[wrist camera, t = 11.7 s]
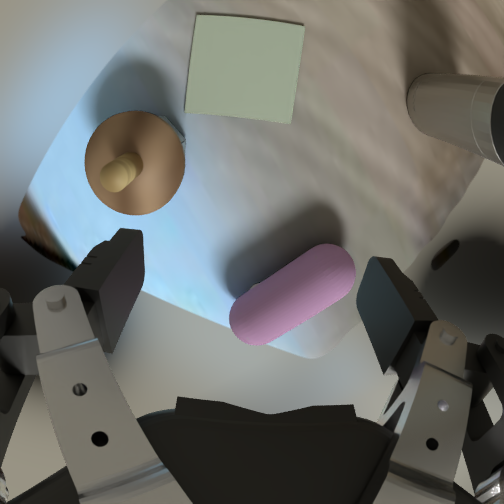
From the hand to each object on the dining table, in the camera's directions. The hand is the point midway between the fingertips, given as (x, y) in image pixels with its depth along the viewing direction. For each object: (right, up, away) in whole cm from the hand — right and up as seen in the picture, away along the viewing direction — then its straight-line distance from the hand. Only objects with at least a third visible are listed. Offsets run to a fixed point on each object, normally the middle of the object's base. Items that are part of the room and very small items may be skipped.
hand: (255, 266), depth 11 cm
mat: (-1, +23, +22) cm, 31 cm away
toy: (+5, -4, +37) cm, 37 cm away
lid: (-13, +10, +22) cm, 27 cm away
